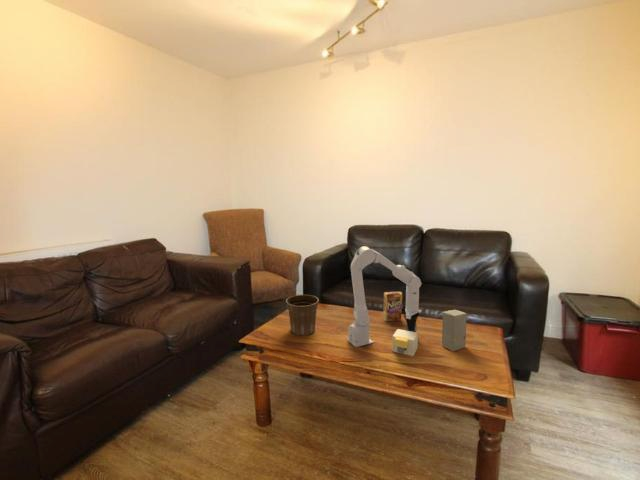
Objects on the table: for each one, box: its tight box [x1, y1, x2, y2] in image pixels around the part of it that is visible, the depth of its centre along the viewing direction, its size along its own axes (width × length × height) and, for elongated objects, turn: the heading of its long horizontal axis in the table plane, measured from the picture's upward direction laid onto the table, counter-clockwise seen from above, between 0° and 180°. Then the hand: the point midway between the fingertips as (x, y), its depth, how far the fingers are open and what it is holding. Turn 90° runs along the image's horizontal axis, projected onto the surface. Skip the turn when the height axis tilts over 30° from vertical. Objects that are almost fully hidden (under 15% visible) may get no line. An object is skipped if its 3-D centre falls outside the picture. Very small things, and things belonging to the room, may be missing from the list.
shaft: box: [396, 323, 418, 354], centre depth 141 cm, size 21×4×6 cm, turn 151°
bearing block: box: [391, 328, 419, 357], centre depth 139 cm, size 8×9×7 cm
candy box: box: [382, 291, 403, 322], centre depth 171 cm, size 9×4×15 cm, turn 98°
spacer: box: [395, 336, 409, 349], centre depth 133 cm, size 4×5×3 cm
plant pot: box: [285, 294, 320, 336], centre depth 159 cm, size 16×16×16 cm
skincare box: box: [441, 309, 467, 352], centre depth 140 cm, size 8×7×16 cm
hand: (411, 328), depth 149 cm, fingers closed on shaft, 3 cm apart
